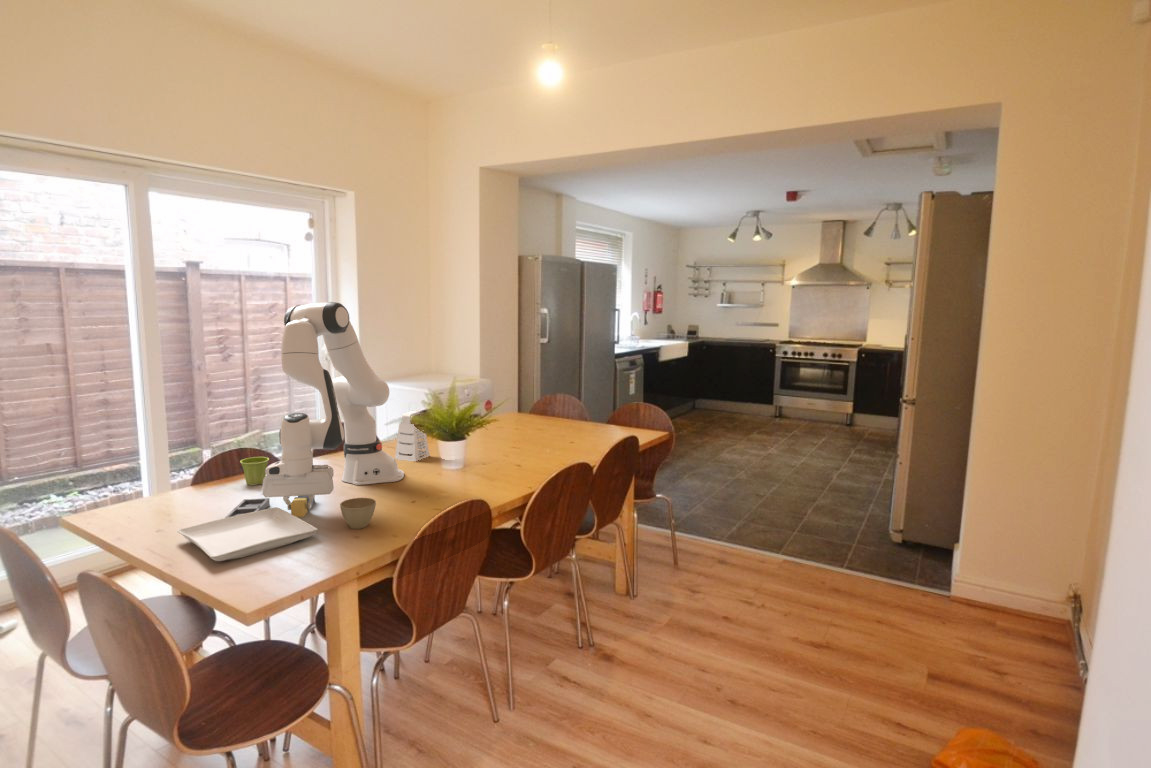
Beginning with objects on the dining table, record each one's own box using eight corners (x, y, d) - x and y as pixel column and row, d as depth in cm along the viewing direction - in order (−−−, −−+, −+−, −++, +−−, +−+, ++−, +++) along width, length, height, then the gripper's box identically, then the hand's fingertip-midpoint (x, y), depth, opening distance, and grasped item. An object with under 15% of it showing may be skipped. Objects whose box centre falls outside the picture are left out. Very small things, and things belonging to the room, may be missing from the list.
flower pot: (343, 534, 172) (342, 510, 171) (339, 523, 181) (338, 500, 180) (379, 528, 177) (378, 505, 176) (373, 518, 185) (372, 495, 184)
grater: (429, 456, 263) (429, 411, 260) (415, 462, 253) (414, 415, 250) (409, 454, 266) (408, 409, 264) (394, 459, 257) (393, 413, 254)
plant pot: (275, 479, 224) (274, 457, 223) (260, 487, 215) (258, 463, 214) (252, 478, 225) (250, 456, 224) (235, 486, 216) (234, 462, 215)
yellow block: (308, 510, 192) (307, 496, 191) (304, 516, 186) (303, 502, 185) (295, 511, 191) (295, 497, 190) (290, 517, 185) (290, 503, 184)
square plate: (212, 571, 148) (211, 556, 147) (176, 541, 165) (175, 528, 165) (320, 540, 168) (319, 526, 167) (277, 517, 186) (277, 504, 185)
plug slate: (314, 501, 200) (314, 488, 200) (310, 507, 194) (310, 493, 194) (302, 502, 200) (301, 488, 199) (298, 508, 194) (297, 494, 193)
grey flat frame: (269, 504, 196) (269, 498, 196) (252, 524, 179) (251, 516, 179) (244, 506, 195) (243, 499, 195) (224, 525, 177) (223, 518, 177)
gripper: (334, 462, 192) (336, 503, 193) (265, 464, 187) (267, 507, 189) (331, 467, 185) (332, 510, 187) (259, 470, 181) (261, 514, 183)
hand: (299, 508), depth 188 cm, fingers open, 4 cm apart
